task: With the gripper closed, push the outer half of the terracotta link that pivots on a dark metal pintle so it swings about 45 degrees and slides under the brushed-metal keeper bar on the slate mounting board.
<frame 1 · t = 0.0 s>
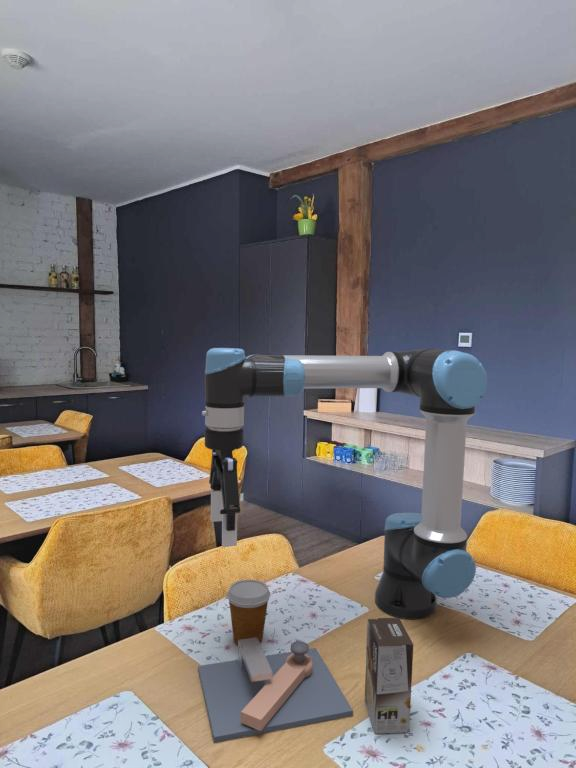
hand: (223, 532, 110), 28 cm above the table, fingers open, 13 cm apart
mount board: (271, 691, 105), on the table
disposable coffee cup: (247, 641, 122), on the table
coffee box: (385, 716, 100), on the table
link: (280, 679, 103), point 4 cm above the table, hinge at 45.0°
keeper: (254, 684, 107), resting on mount board
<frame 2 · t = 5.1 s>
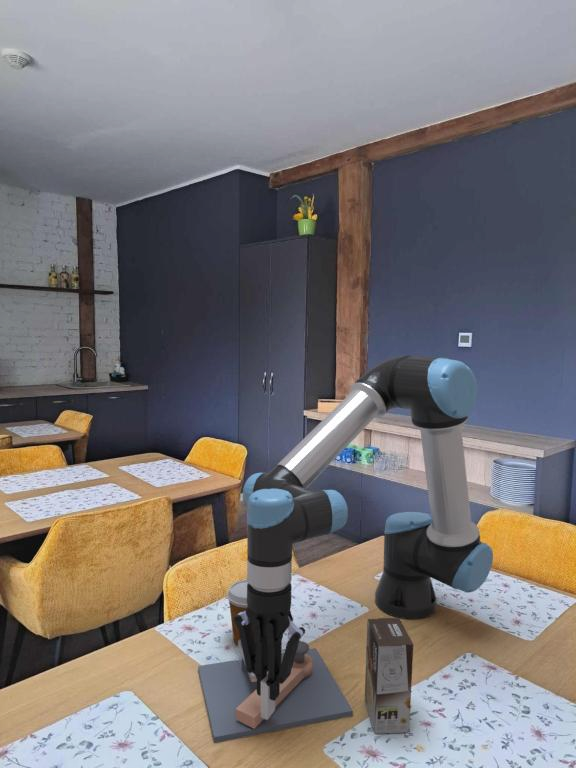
hand: (267, 713, 95), 3 cm above the table, fingers closed
link: (278, 678, 103), point 4 cm above the table, hinge at 41.1°, touching gripper
everything else where it was.
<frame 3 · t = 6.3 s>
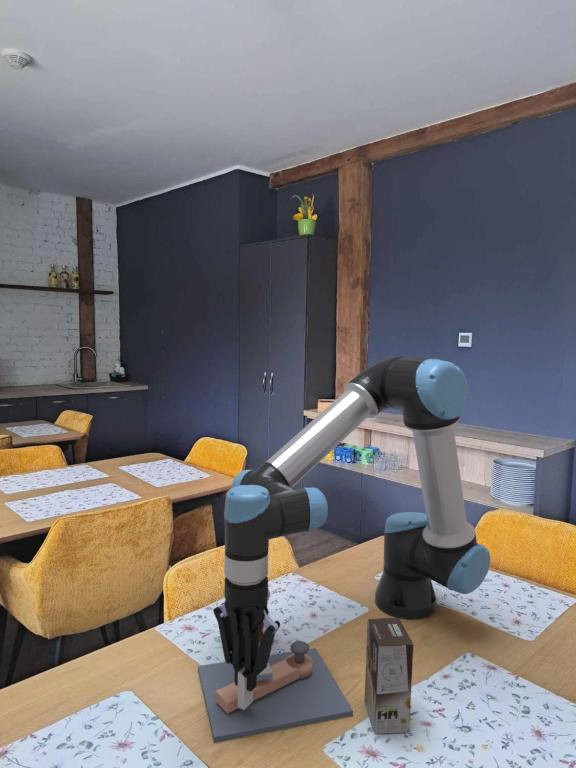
hand: (245, 704, 98), 3 cm above the table, fingers closed
link: (268, 672, 105), point 4 cm above the table, hinge at 21.9°, touching gripper
everything else where it was.
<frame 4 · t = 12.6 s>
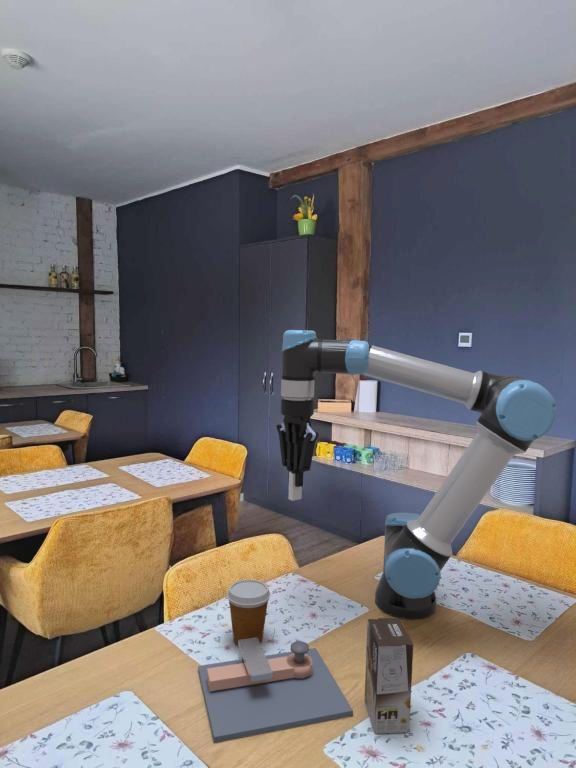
hand: (295, 498, 128), 29 cm above the table, fingers closed
link: (261, 664, 107), point 4 cm above the table, hinge at -0.2°
everything else where it was.
at the end: link at +0° (first picture: +45°) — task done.
